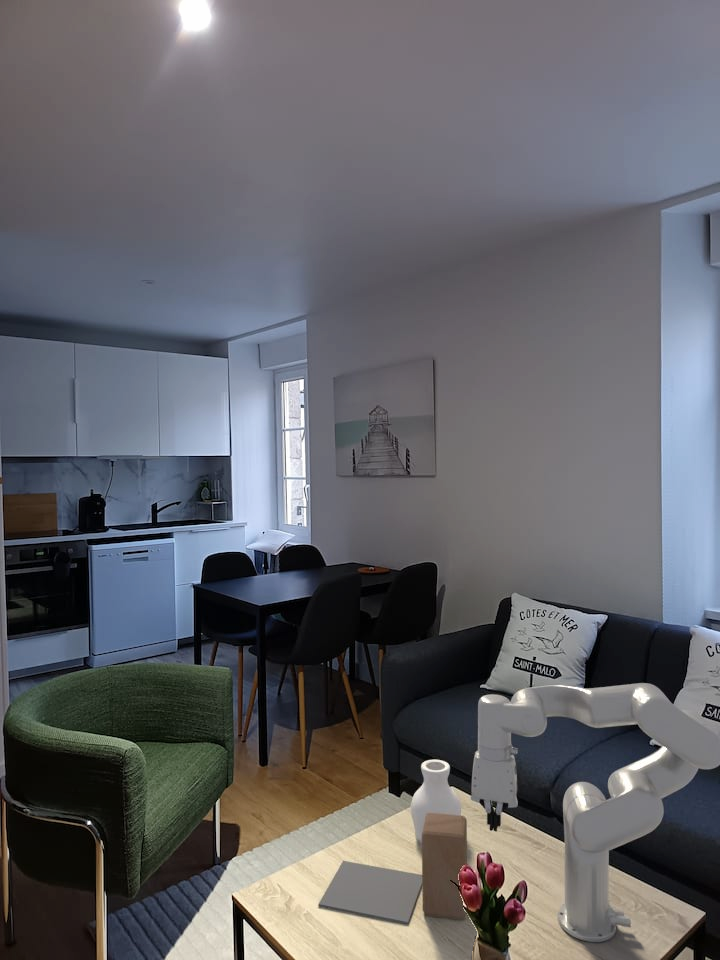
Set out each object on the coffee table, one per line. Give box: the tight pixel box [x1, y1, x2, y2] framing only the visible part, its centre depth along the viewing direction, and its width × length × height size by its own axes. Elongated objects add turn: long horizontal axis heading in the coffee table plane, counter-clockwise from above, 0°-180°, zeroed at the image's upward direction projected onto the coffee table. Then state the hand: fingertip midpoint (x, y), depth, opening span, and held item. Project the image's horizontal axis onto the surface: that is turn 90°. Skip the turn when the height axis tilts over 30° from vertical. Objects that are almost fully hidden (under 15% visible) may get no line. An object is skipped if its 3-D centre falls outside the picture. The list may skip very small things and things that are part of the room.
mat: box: [318, 860, 422, 925], centre depth 166 cm, size 22×18×1 cm
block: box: [421, 813, 468, 921], centre depth 160 cm, size 10×10×20 cm
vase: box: [410, 759, 462, 844], centre depth 191 cm, size 14×14×20 cm
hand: (493, 827), depth 156 cm, fingers closed
